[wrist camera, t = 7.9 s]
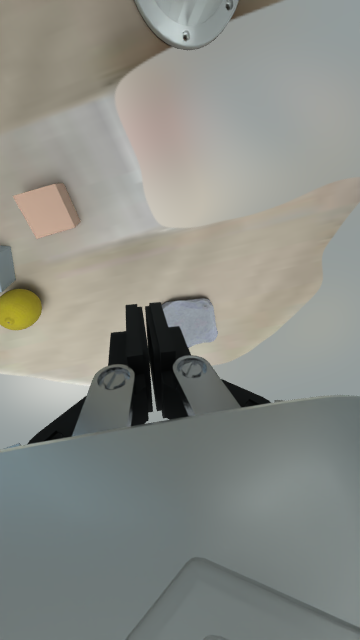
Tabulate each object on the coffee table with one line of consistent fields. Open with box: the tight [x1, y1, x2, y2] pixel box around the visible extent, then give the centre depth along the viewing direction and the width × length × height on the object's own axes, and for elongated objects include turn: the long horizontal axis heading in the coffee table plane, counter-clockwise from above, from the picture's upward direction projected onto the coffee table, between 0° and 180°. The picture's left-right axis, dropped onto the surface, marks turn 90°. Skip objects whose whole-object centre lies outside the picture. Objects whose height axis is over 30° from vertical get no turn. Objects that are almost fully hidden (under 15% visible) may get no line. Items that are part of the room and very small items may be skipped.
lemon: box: [0, 289, 42, 330], centre depth 35 cm, size 6×6×8 cm
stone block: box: [162, 298, 218, 348], centre depth 45 cm, size 12×5×10 cm
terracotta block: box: [13, 183, 81, 239], centre depth 31 cm, size 5×5×5 cm
